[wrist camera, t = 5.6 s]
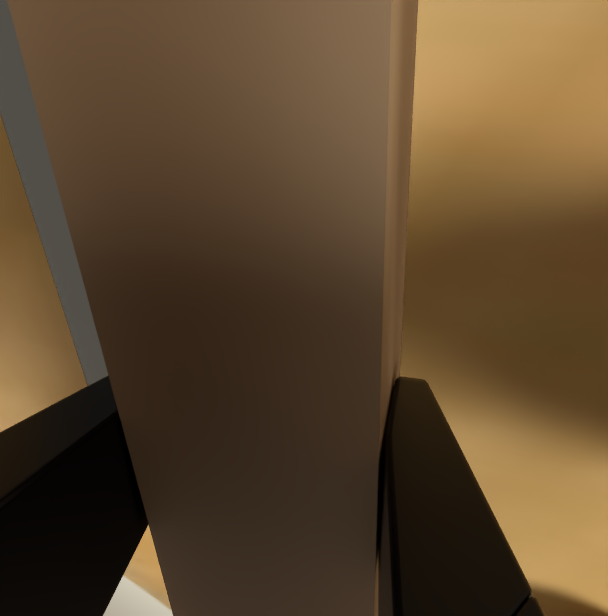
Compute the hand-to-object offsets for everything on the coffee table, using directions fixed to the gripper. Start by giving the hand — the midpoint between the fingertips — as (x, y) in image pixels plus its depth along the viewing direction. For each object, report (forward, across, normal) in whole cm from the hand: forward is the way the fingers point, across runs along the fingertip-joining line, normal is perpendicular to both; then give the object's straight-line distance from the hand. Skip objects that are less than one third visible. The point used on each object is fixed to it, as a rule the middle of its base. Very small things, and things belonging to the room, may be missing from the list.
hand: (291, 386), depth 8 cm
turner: (+1, 0, +3) cm, 3 cm away
